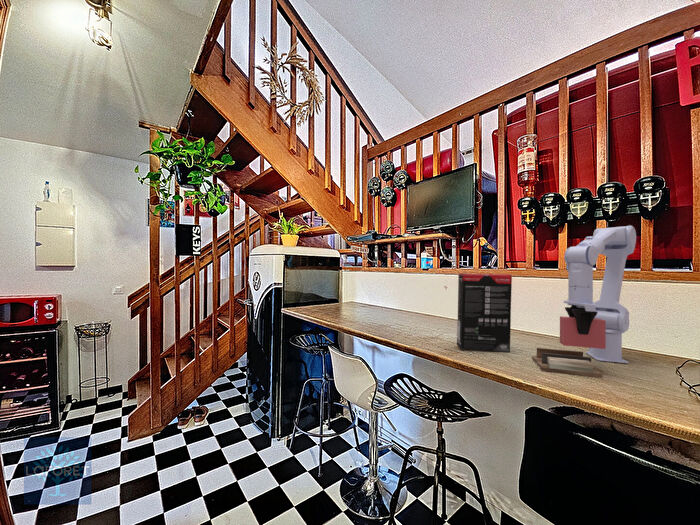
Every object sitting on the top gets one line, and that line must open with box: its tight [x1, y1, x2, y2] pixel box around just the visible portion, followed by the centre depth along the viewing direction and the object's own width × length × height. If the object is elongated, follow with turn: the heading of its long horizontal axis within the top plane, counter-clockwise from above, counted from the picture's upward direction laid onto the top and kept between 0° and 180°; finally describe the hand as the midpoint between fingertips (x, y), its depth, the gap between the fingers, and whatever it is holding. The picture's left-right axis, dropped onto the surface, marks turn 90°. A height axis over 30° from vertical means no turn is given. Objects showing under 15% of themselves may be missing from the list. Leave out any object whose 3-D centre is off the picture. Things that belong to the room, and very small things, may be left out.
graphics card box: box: [456, 273, 513, 353], centre depth 106 cm, size 17×7×27 cm, turn 84°
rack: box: [531, 347, 604, 379], centre depth 87 cm, size 12×14×4 cm
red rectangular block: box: [559, 315, 606, 349], centre depth 87 cm, size 4×10×8 cm, turn 71°
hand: (580, 332), depth 87 cm, fingers closed on red rectangular block, 3 cm apart
